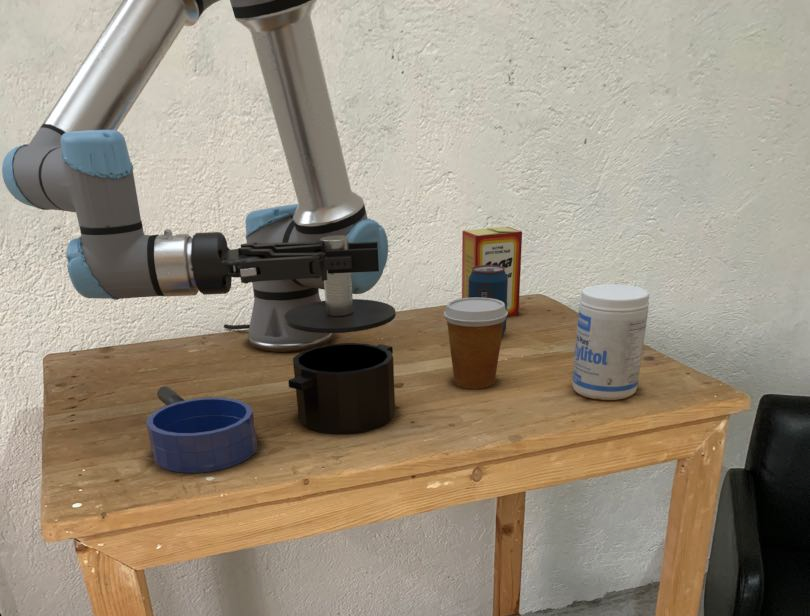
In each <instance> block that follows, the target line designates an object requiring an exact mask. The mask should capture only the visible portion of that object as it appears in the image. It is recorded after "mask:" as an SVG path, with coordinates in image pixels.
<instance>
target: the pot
mask: <svg viewBox="0 0 810 616" xmlns="http://www.w3.org/2000/svg"><path fill="white" fill-rule="evenodd" d="M393 348H394V347H393V346H391V345H386V344H381V343H379V344H377V345H376V344H370V343H359V342H358V343H357V342H342V343H341V342H340V343H329V344H324V345H322V346H318V347H313V348H310V349H307V350H301V351H300V352H298V354H296V355H295V356H293V358H292V362H293V363H292V365H293V376H294V377H293V378H290V379H288V381H287V382H288V388H290V389H294V390H295V394H296V405H297V414H298V421H299V423H300V424H301V425H302V426H303V427H304V428H306V429H308V430H310V431H313V432H316V433H322V434H328V435H329V434H330V435H352V434H353V435H354V434H359V433H366V432H369V431H373V430H377V429H379V428H382V427H383V426H386V425H388V424H389V423H390V422H392V420H393V419H394V417H395V413H396V397H395V375H394V374H395V372H394V371H395V370H394V369H395V368H394V356H393V353H394V349H393Z"/></svg>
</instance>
